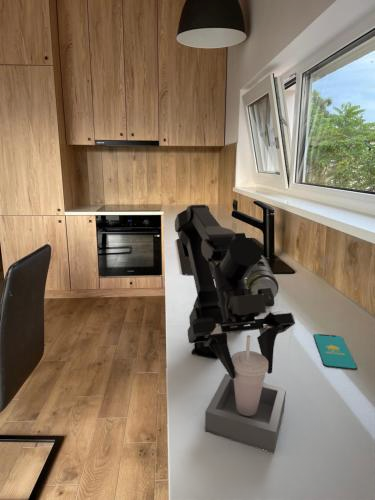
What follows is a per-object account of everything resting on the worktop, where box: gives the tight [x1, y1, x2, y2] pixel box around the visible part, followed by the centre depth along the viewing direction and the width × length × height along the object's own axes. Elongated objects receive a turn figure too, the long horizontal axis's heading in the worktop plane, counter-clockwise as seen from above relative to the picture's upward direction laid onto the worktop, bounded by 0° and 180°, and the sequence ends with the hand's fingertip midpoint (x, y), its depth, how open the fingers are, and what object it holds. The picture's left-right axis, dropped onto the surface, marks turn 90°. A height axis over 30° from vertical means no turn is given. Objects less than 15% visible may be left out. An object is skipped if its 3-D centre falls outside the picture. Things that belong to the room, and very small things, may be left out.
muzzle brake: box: [246, 254, 280, 299], centre depth 122 cm, size 10×28×10 cm, turn 174°
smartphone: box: [313, 333, 358, 371], centre depth 84 cm, size 7×1×15 cm
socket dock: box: [204, 373, 287, 454], centre depth 61 cm, size 12×12×4 cm
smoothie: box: [231, 335, 268, 416], centre depth 60 cm, size 6×6×14 cm
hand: (252, 375), depth 58 cm, fingers closed on smoothie, 6 cm apart
